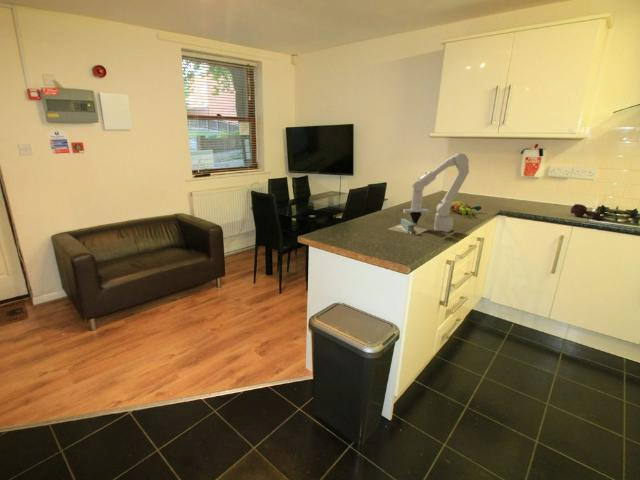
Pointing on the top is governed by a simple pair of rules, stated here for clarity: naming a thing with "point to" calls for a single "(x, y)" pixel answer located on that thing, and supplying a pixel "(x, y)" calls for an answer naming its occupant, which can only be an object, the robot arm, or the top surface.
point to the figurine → (585, 212)
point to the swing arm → (407, 224)
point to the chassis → (412, 230)
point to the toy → (463, 208)
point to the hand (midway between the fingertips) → (414, 224)
